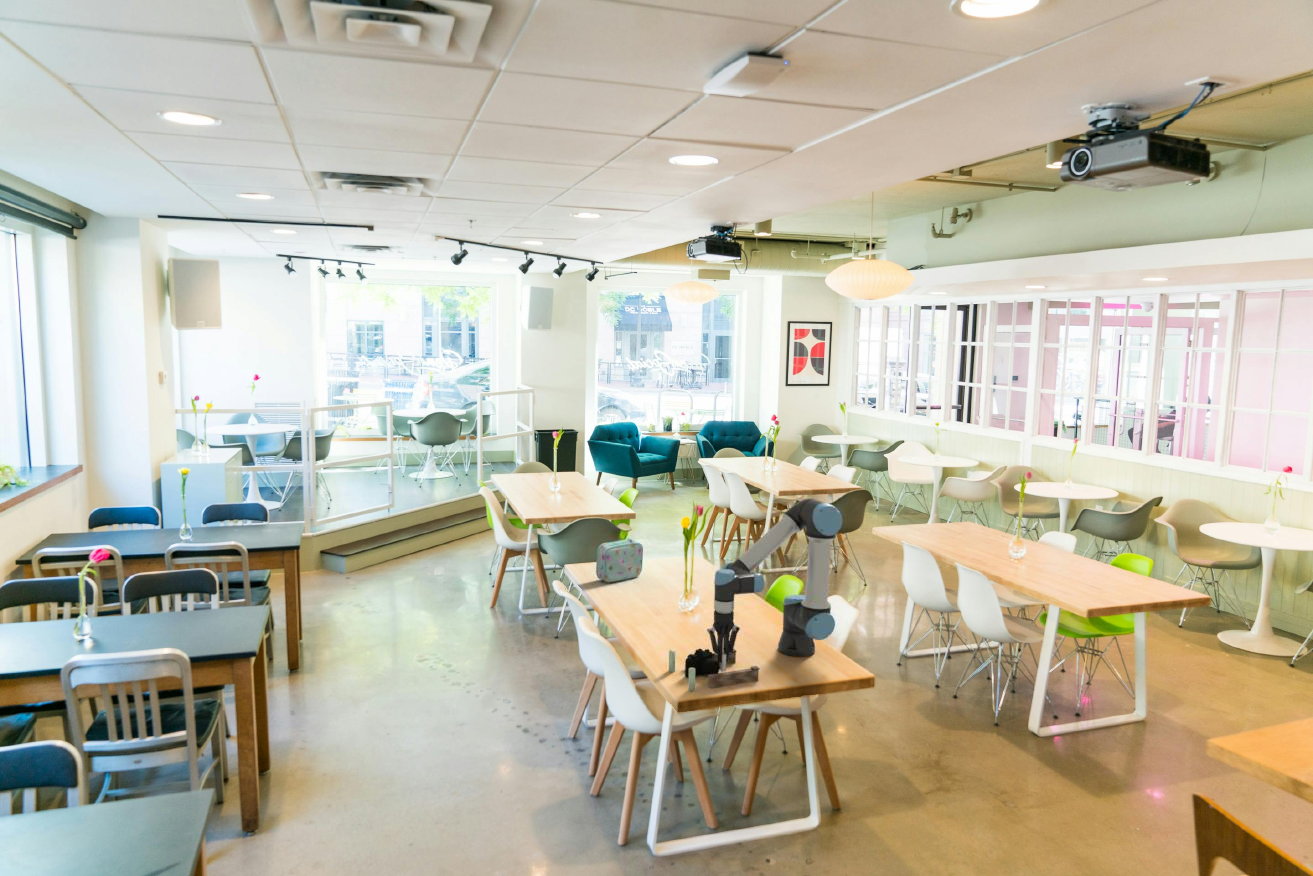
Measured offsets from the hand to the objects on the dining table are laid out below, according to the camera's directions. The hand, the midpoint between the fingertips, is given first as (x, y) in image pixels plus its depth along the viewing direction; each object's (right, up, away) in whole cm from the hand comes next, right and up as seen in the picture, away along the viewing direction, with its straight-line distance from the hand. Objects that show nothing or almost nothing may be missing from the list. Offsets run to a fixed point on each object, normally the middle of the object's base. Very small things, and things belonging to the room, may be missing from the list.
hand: (722, 670), depth 317 cm
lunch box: (-45, +13, +128) cm, 136 cm away
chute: (0, -2, 0) cm, 2 cm away
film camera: (-7, -2, 0) cm, 7 cm away
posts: (-16, -2, -6) cm, 17 cm away
